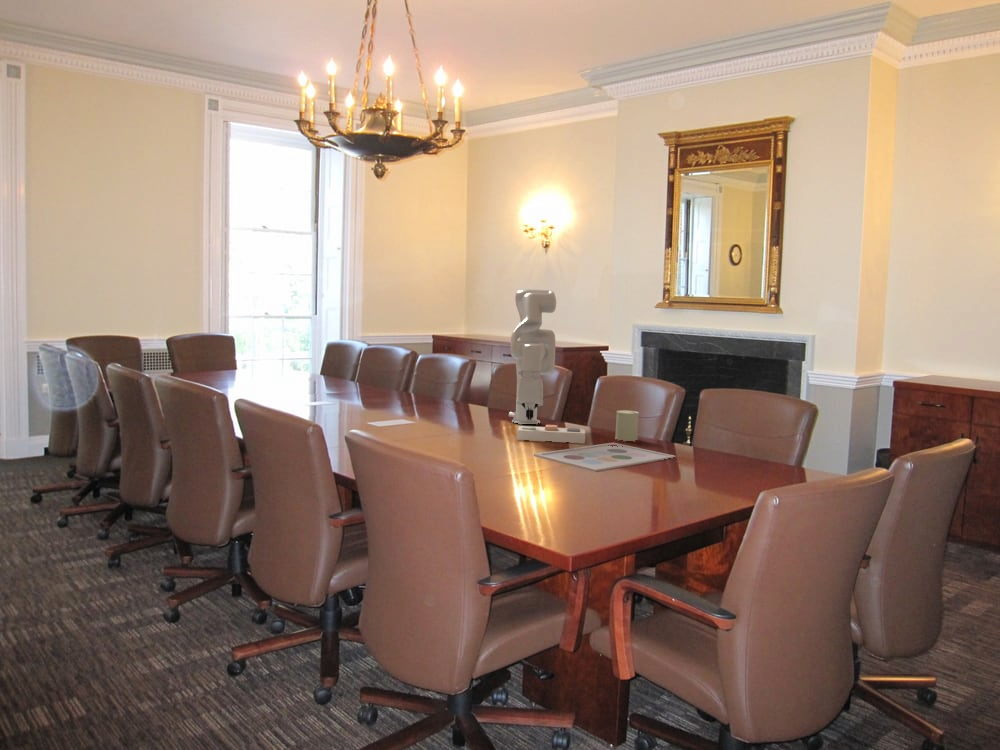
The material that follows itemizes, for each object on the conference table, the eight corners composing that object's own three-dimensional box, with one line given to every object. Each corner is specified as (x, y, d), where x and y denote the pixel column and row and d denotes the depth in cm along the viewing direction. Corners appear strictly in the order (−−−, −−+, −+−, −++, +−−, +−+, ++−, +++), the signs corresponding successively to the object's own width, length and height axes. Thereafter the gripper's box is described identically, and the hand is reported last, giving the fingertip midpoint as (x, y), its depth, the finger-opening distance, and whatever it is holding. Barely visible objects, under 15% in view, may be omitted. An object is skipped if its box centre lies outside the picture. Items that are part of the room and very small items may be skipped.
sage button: (522, 436, 337) (523, 428, 337) (523, 434, 342) (523, 426, 342) (534, 437, 337) (534, 428, 337) (535, 435, 342) (535, 426, 341)
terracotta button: (545, 435, 337) (545, 426, 336) (545, 433, 341) (545, 424, 341) (557, 435, 336) (557, 427, 336) (557, 433, 341) (557, 425, 341)
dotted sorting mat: (533, 453, 305) (613, 442, 333) (533, 457, 305) (613, 445, 333) (595, 469, 282) (675, 455, 310) (595, 473, 282) (675, 459, 310)
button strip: (517, 440, 335) (517, 430, 334) (518, 435, 345) (518, 425, 345) (584, 443, 333) (585, 433, 332) (584, 438, 344) (584, 428, 343)
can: (631, 442, 338) (633, 413, 337) (611, 439, 343) (612, 410, 342) (641, 439, 346) (642, 410, 345) (621, 436, 351) (622, 408, 350)
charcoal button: (567, 438, 336) (567, 430, 336) (567, 436, 341) (567, 428, 341) (579, 439, 336) (579, 430, 335) (579, 437, 341) (579, 428, 340)
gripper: (512, 375, 334) (510, 420, 337) (549, 376, 333) (547, 422, 336) (513, 372, 341) (511, 416, 344) (549, 374, 340) (548, 418, 343)
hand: (529, 419), depth 340 cm, fingers closed
